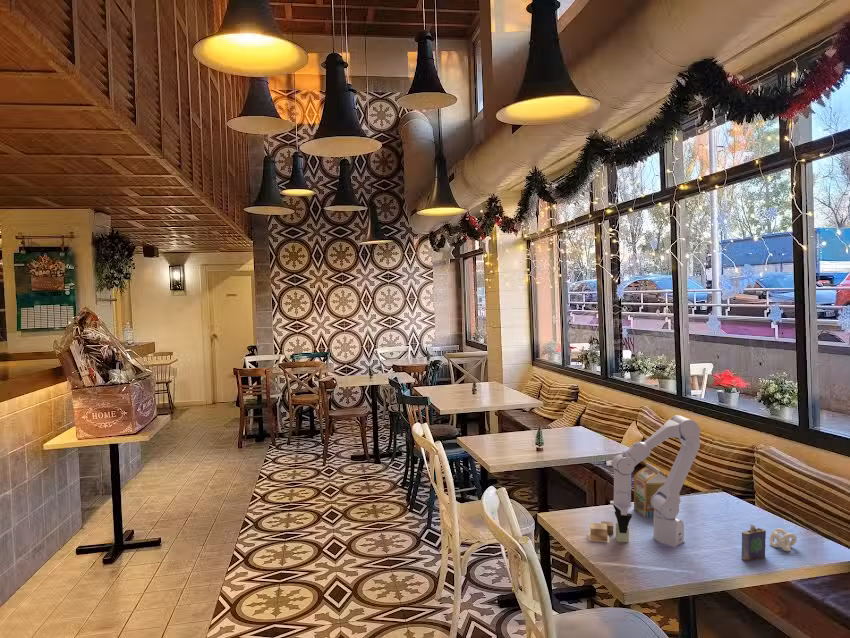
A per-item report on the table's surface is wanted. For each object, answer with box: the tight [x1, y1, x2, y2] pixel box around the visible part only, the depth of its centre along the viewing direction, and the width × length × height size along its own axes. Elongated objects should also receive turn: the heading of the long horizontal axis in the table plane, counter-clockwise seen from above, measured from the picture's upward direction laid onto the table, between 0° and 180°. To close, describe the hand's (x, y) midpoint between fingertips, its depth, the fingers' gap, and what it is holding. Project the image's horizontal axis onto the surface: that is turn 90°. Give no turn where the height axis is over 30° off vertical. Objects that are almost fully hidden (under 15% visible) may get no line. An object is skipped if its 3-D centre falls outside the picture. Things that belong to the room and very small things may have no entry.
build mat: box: [587, 532, 610, 543], centre depth 209 cm, size 14×14×1 cm
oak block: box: [589, 522, 607, 542], centre depth 209 cm, size 6×6×4 cm
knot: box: [768, 527, 798, 552], centre depth 201 cm, size 8×8×6 cm
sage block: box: [615, 522, 630, 543], centre depth 207 cm, size 4×4×5 cm
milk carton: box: [633, 462, 667, 519], centre depth 234 cm, size 11×11×19 cm
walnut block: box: [600, 520, 614, 535], centre depth 214 cm, size 4×4×3 cm
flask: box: [741, 524, 767, 562], centre depth 193 cm, size 9×3×11 cm, turn 110°
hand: (622, 528), depth 207 cm, fingers open, 7 cm apart
